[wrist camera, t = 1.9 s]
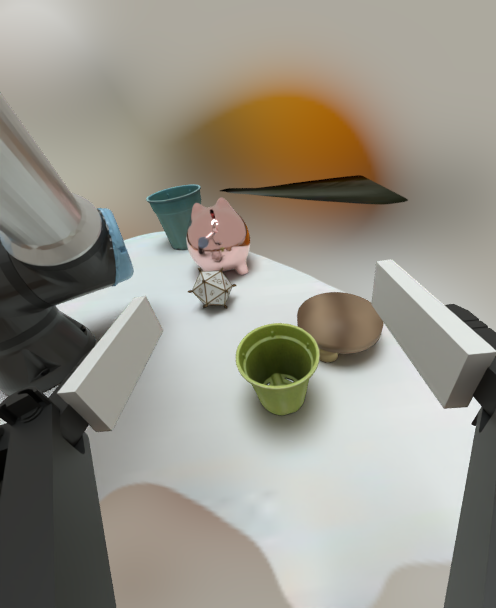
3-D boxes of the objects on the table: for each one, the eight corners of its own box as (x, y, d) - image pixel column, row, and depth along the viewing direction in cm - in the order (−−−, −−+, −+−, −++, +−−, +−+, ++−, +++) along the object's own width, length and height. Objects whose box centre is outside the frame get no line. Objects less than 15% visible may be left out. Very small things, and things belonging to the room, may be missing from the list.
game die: (228, 312, 54) (248, 274, 50) (213, 327, 46) (236, 283, 42) (194, 292, 54) (211, 253, 50) (174, 303, 46) (193, 258, 42)
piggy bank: (245, 247, 71) (236, 189, 61) (261, 276, 57) (251, 207, 47) (195, 259, 70) (177, 202, 60) (197, 291, 55) (174, 224, 46)
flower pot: (202, 252, 72) (185, 197, 63) (156, 254, 77) (134, 202, 67) (219, 231, 85) (208, 182, 75) (179, 233, 89) (163, 187, 79)
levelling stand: (301, 368, 35) (300, 347, 32) (295, 314, 44) (294, 295, 41) (390, 366, 33) (397, 344, 30) (364, 310, 42) (368, 289, 39)
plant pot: (233, 408, 31) (219, 368, 26) (266, 357, 37) (260, 315, 32) (301, 444, 27) (300, 404, 22) (326, 379, 33) (330, 334, 27)
